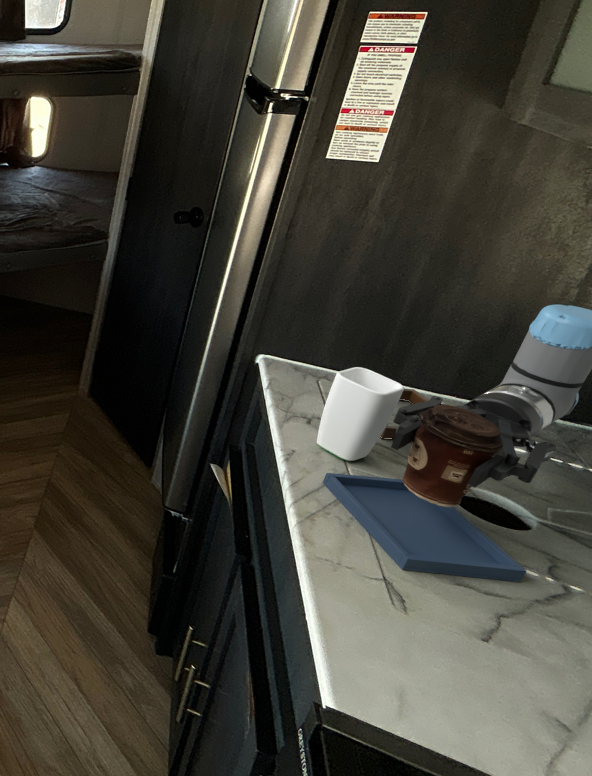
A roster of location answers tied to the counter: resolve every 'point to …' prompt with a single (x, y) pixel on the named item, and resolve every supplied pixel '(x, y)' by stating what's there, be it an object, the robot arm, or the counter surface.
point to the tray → (421, 530)
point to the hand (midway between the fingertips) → (434, 458)
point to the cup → (357, 412)
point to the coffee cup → (449, 453)
